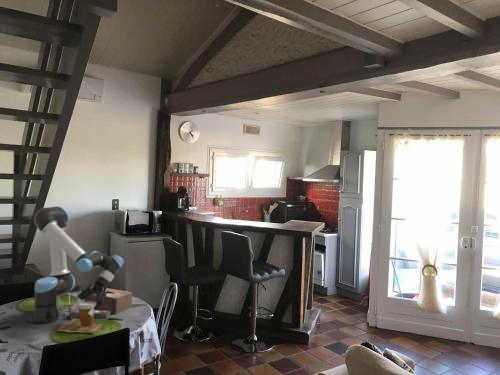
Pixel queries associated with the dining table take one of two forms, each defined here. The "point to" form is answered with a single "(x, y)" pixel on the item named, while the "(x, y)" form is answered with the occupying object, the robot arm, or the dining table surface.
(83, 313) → the disposable coffee cup
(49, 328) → the dining table surface
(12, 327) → the dining table surface
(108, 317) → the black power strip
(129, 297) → the tissue box cover
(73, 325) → the walnut board
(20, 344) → the dining table surface
